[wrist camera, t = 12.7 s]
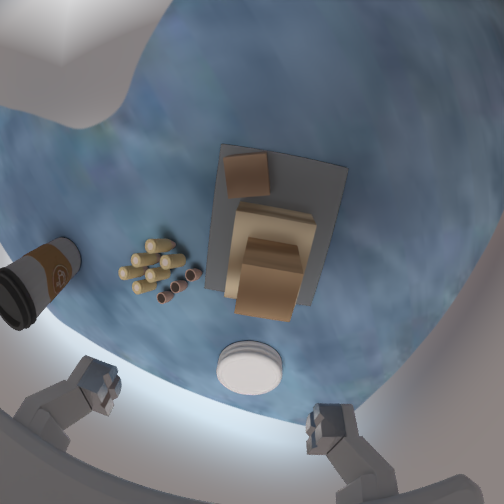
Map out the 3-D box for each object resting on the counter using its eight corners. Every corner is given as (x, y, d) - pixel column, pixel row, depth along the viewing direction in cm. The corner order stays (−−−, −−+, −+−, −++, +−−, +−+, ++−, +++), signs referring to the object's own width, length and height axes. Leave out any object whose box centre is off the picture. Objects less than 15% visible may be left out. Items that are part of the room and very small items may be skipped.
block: (229, 155, 28) (222, 157, 24) (266, 151, 27) (266, 153, 24) (233, 190, 29) (228, 198, 26) (270, 187, 29) (269, 195, 25)
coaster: (270, 385, 43) (269, 401, 40) (213, 372, 43) (210, 387, 39) (291, 347, 39) (292, 364, 36) (227, 331, 39) (223, 348, 35)
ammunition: (114, 274, 30) (159, 318, 33) (149, 238, 28) (198, 290, 30) (130, 257, 35) (170, 298, 37) (164, 224, 32) (206, 270, 35)
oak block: (248, 236, 27) (242, 263, 22) (297, 245, 27) (303, 274, 22) (241, 279, 29) (234, 313, 24) (286, 287, 29) (289, 322, 24)
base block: (240, 201, 30) (236, 210, 26) (311, 214, 30) (316, 225, 26) (229, 279, 34) (224, 296, 30) (292, 290, 34) (294, 308, 30)
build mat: (222, 143, 28) (221, 143, 27) (347, 167, 28) (348, 168, 27) (205, 285, 35) (204, 288, 35) (310, 303, 35) (310, 306, 35)
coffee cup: (88, 284, 37) (33, 343, 23) (52, 270, 37) (-3, 319, 23) (85, 236, 34) (16, 288, 20) (48, 225, 33) (-19, 267, 20)
